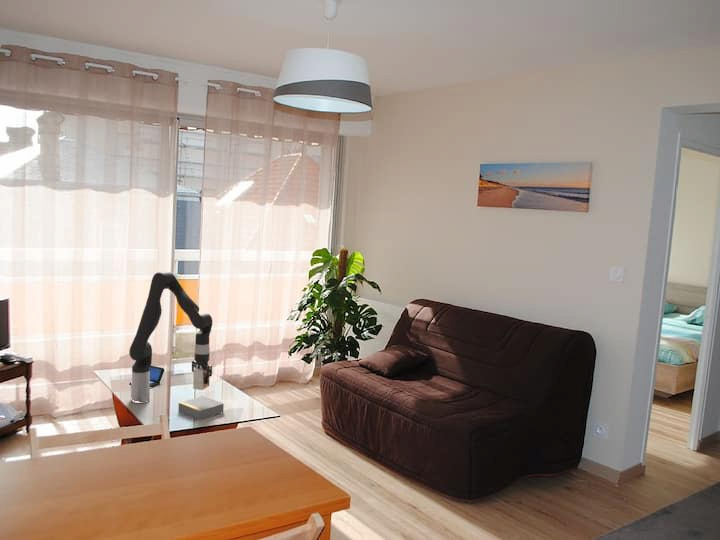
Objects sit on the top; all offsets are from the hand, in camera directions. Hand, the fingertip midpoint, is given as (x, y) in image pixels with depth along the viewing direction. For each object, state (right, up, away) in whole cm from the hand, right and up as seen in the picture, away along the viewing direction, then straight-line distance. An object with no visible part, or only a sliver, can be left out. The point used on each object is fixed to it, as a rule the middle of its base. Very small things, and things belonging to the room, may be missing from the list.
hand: (201, 382), depth 321 cm
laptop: (-44, -9, +44) cm, 63 cm away
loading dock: (-1, -16, +2) cm, 17 cm away
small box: (0, -3, 0) cm, 3 cm away
